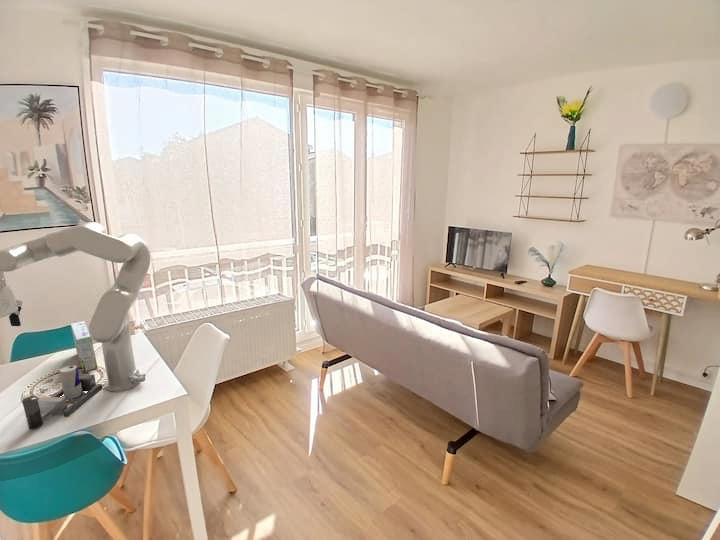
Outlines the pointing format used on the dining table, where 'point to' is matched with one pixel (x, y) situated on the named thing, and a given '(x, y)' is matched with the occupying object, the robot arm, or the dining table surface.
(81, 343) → the snack box
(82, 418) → the dining table surface
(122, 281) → the robot arm
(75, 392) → the energy drink
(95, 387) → the press
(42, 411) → the ram
